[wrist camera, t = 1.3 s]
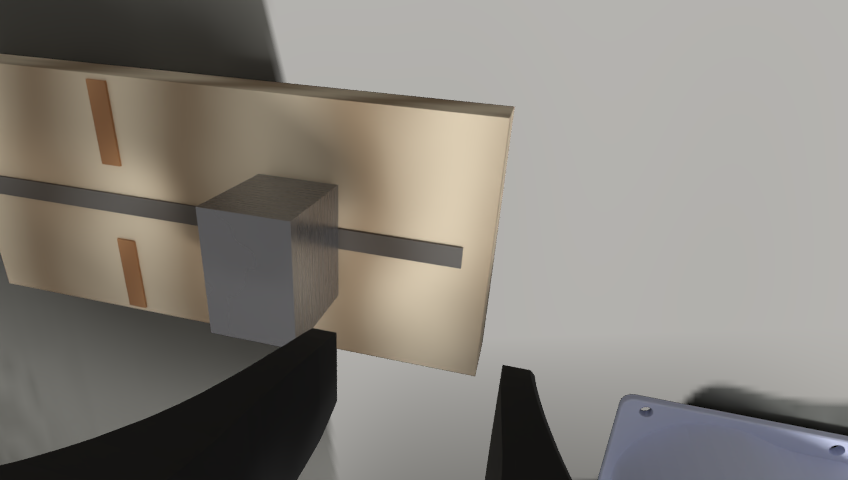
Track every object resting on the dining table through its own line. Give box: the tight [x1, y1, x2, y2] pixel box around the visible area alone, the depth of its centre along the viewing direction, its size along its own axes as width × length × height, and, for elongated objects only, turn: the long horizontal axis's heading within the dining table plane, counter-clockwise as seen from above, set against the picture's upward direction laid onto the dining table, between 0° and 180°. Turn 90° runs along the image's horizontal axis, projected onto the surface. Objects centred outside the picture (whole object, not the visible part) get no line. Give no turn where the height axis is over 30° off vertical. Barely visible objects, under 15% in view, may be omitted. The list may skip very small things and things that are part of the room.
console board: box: [0, 54, 514, 376], centre depth 21 cm, size 22×10×2 cm, turn 86°
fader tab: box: [195, 174, 338, 347], centre depth 17 cm, size 3×4×4 cm
